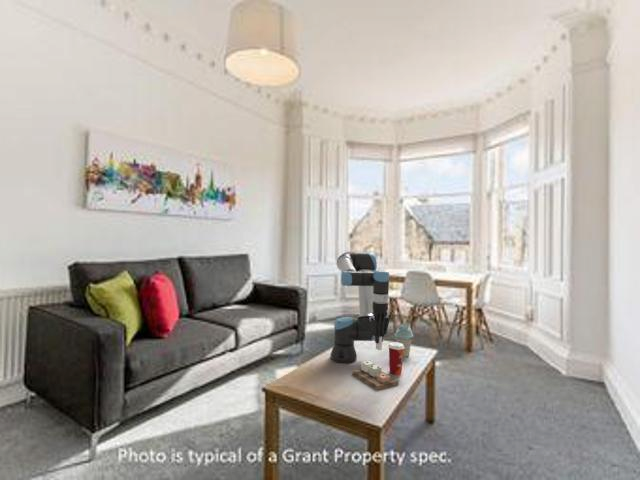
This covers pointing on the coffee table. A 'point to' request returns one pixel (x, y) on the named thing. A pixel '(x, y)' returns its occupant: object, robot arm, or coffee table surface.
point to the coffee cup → (395, 357)
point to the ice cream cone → (404, 337)
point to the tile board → (374, 380)
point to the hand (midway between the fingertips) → (378, 349)
